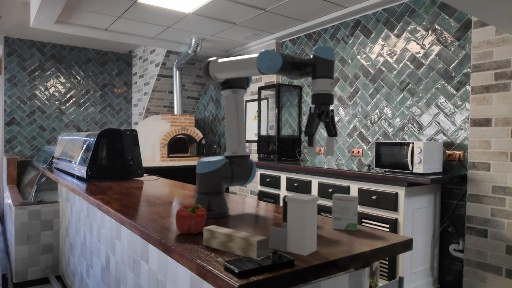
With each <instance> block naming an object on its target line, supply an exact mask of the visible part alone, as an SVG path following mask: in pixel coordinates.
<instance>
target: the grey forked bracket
mask: <svg viewBox="0 0 512 288" xmlns="http://www.w3.org/2000/svg"><path fill="white" fill-rule="evenodd" d="M302 194H303V193H299V194H297V195H296V194H291V195H292V196H290V195H286V196H287V197H286V201H288V204H287V223H286V222H282V227H276V226H269V237H268V238H269V242H268V249H272V250H275V251H276V250H277V251H281V252H285V253H286V252H289V253H292V254H297V255H301V256H308V255H310V254H313V253H314V252H316V251H317V250H318V248H317V244H318V243H317V242H318V240H317V238H318V235H317V234H318V202H319V201H320V196H317V195H316V196H310V195H302Z"/></svg>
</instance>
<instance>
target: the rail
mask: <svg viewBox="0 0 512 288" xmlns="http://www.w3.org/2000/svg"><path fill="white" fill-rule="evenodd" d="M202 230H203V238H202V239H203V241H202V243H203V245H204V246H206V247H210V248H214V249H217V250H222V251H224V252H228V253H232V254H235V255H238V256H241V257H245V258H248V257H256V258H261V257H264V256H266V255H268V256H269V238H270V237H267V236H261V235H257V234H253V233H250V232H249V233H248V232H245V231H241V230H235V229H233V228H232V229H231V228H227V227H223V226H218V225H209V226H205V227H204V226H203V228H202ZM203 245H202V246H203Z"/></svg>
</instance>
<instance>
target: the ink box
mask: <svg viewBox="0 0 512 288" xmlns="http://www.w3.org/2000/svg"><path fill="white" fill-rule="evenodd" d="M331 203H332V204H331V205H332V206H331V229H332V230H343V231H350V232H351V231H353V232H357V230H358V214H359V212H358V211H359V210H358V209H359V195H354V194H341V193H334V194H332V202H331Z"/></svg>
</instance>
